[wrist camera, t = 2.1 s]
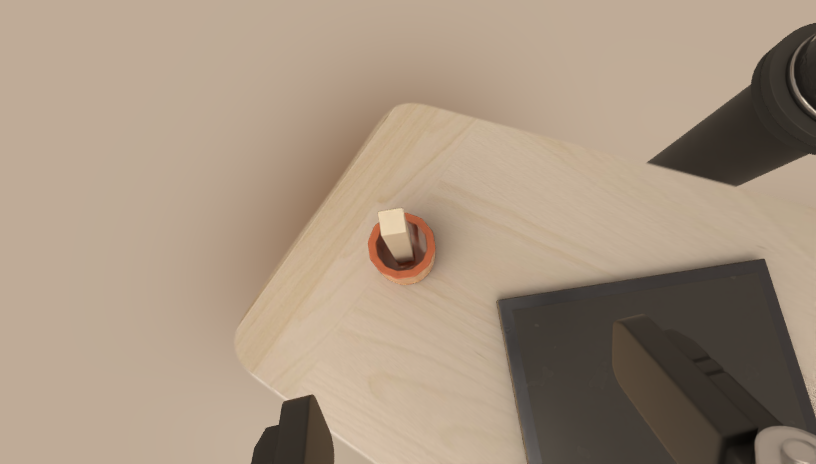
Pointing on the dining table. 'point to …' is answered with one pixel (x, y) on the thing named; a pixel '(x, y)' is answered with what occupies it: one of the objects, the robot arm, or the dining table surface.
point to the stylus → (396, 234)
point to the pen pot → (421, 248)
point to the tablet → (592, 358)
